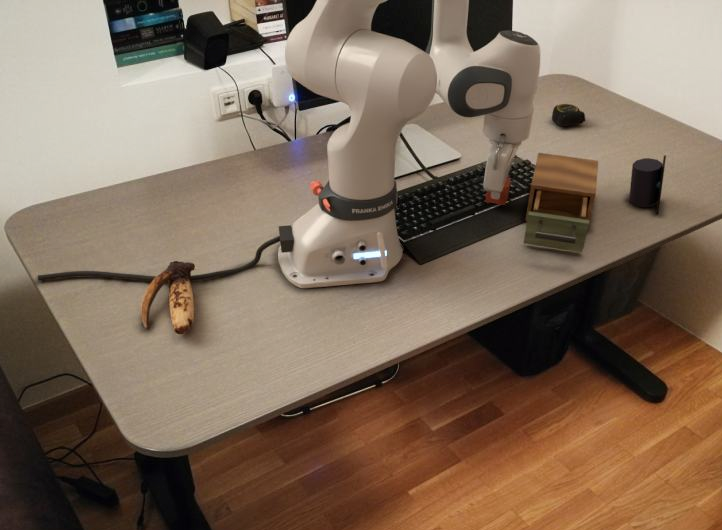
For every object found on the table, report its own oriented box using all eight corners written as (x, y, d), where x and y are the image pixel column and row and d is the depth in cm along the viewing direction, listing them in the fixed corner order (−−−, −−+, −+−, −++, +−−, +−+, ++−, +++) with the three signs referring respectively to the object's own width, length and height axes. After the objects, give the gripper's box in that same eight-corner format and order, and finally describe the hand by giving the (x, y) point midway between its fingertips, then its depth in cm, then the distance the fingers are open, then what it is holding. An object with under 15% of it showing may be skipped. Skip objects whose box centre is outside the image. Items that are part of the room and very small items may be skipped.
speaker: (670, 203, 141) (678, 156, 134) (657, 215, 138) (666, 168, 131) (635, 193, 145) (642, 147, 138) (622, 205, 142) (629, 159, 135)
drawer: (580, 268, 122) (587, 238, 118) (520, 258, 124) (524, 229, 119) (585, 217, 135) (592, 189, 130) (530, 209, 136) (535, 181, 132)
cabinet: (587, 230, 133) (595, 193, 128) (525, 221, 135) (531, 184, 129) (590, 196, 143) (598, 160, 137) (532, 187, 145) (538, 152, 139)
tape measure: (559, 130, 166) (562, 116, 163) (546, 119, 170) (548, 104, 168) (583, 127, 167) (587, 112, 165) (570, 115, 172) (572, 101, 170)
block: (505, 205, 136) (507, 187, 133) (485, 201, 136) (487, 183, 134) (508, 195, 139) (511, 178, 136) (489, 192, 139) (491, 174, 137)
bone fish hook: (143, 282, 118) (142, 349, 105) (135, 259, 115) (134, 325, 102) (198, 273, 120) (204, 337, 107) (192, 250, 116) (198, 314, 103)
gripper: (515, 150, 119) (504, 219, 128) (531, 106, 134) (521, 171, 143) (479, 145, 120) (471, 213, 129) (499, 102, 135) (491, 166, 144)
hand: (497, 191), depth 136 cm, fingers closed on block, 4 cm apart
